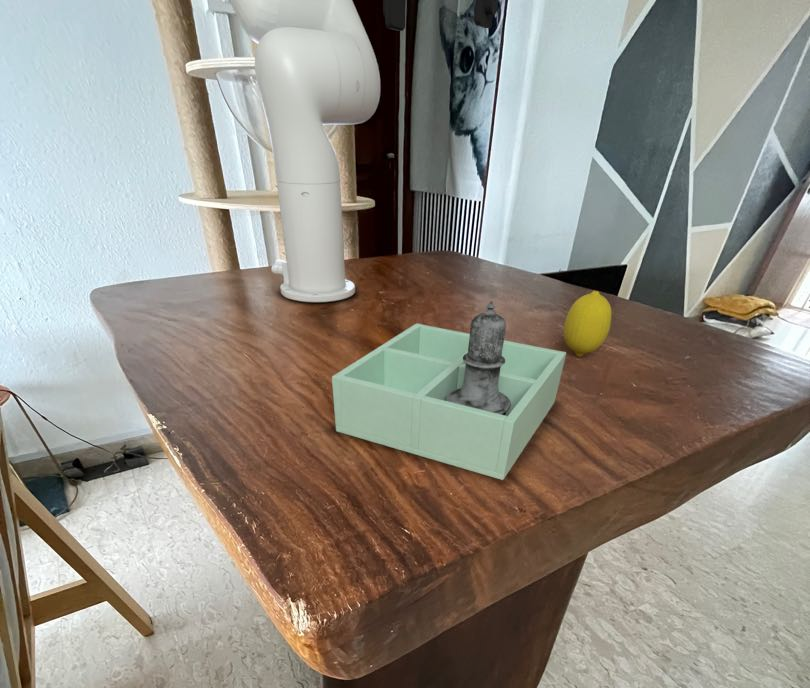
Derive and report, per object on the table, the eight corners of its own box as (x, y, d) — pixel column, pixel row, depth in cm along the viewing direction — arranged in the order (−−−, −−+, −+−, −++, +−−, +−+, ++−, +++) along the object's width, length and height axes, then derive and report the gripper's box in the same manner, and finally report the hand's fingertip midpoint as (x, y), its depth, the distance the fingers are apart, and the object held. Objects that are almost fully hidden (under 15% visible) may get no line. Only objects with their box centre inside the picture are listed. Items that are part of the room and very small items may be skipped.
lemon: (594, 368, 62) (613, 300, 57) (551, 358, 64) (566, 292, 59) (605, 354, 66) (624, 289, 60) (565, 345, 68) (580, 282, 62)
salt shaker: (503, 455, 44) (528, 315, 36) (439, 447, 45) (449, 309, 37) (506, 424, 49) (529, 294, 41) (447, 418, 49) (459, 288, 42)
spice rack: (335, 431, 49) (331, 376, 45) (414, 370, 60) (416, 323, 57) (503, 480, 43) (513, 422, 39) (554, 402, 54) (566, 352, 51)
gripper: (331, -291, 38) (344, 26, 50) (549, -355, 32) (507, 20, 44) (379, -243, 43) (381, 34, 55) (575, -291, 38) (532, 30, 49)
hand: (437, 27), depth 49 cm, fingers open, 9 cm apart
